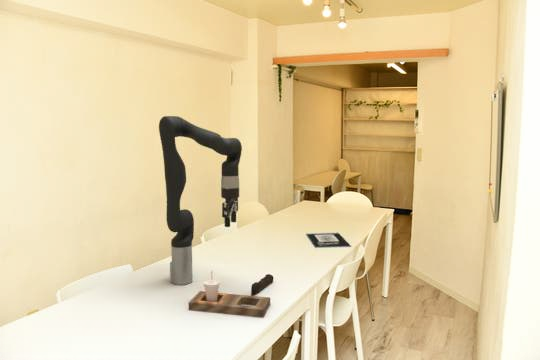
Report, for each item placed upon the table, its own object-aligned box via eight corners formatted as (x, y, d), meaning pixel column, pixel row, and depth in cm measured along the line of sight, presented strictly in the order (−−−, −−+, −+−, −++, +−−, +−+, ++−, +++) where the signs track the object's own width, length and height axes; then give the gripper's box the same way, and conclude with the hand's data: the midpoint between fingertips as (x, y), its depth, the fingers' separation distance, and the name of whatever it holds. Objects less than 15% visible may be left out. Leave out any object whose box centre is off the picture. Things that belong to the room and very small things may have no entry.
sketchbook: (315, 249, 259) (315, 245, 259) (305, 235, 289) (305, 232, 288) (351, 247, 261) (351, 244, 261) (338, 234, 291) (338, 231, 291)
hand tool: (265, 281, 205) (265, 271, 205) (273, 282, 204) (273, 273, 203) (245, 296, 189) (245, 285, 188) (254, 297, 187) (253, 287, 186)
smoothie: (220, 302, 181) (220, 268, 180) (219, 308, 175) (219, 274, 173) (204, 302, 181) (204, 269, 179) (203, 308, 175) (202, 274, 173)
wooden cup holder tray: (188, 309, 174) (188, 301, 174) (200, 297, 186) (200, 290, 185) (263, 317, 167) (263, 309, 167) (270, 304, 179) (270, 297, 179)
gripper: (227, 183, 192) (227, 220, 195) (215, 188, 179) (216, 227, 181) (243, 184, 191) (243, 221, 193) (233, 189, 177) (234, 229, 179)
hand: (230, 224), depth 187 cm, fingers open, 8 cm apart
